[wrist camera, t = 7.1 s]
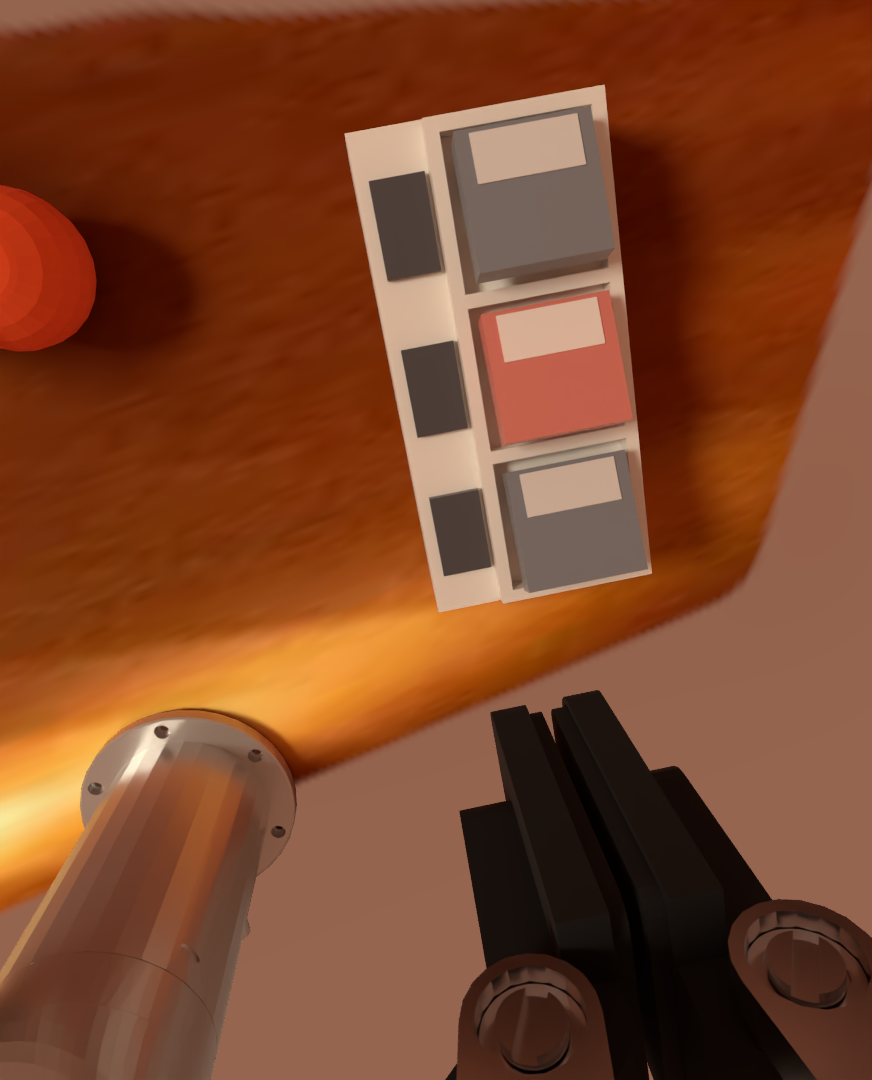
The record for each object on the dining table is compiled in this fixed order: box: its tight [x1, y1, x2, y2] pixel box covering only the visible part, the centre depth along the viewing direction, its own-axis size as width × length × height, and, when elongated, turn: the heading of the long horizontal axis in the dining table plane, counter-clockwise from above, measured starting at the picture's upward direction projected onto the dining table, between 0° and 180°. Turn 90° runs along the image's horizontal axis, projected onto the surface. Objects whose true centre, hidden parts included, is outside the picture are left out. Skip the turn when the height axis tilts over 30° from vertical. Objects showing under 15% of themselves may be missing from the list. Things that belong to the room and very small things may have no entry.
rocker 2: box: [502, 449, 648, 593], centre depth 33 cm, size 6×6×2 cm
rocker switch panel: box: [345, 85, 652, 612], centre depth 34 cm, size 22×11×6 cm, turn 10°
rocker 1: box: [451, 106, 615, 284], centre depth 29 cm, size 6×6×2 cm
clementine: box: [0, 185, 97, 352], centre depth 31 cm, size 8×7×7 cm
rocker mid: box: [478, 290, 633, 447], centre depth 31 cm, size 6×6×2 cm
